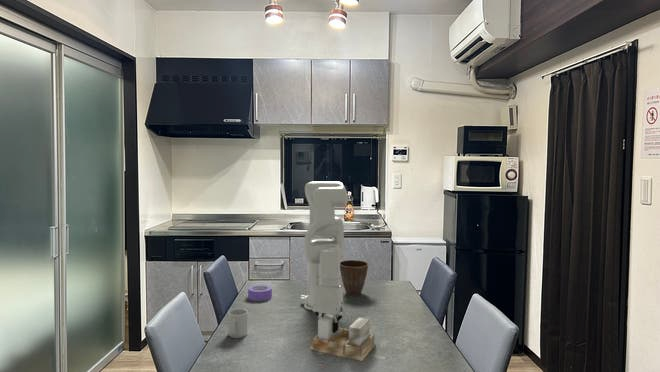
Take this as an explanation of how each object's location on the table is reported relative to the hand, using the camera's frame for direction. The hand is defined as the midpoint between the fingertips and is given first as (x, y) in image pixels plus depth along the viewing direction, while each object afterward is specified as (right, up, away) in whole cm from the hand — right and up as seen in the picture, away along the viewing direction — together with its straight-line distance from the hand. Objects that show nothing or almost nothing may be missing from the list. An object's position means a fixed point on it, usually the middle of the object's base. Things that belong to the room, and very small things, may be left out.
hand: (328, 329), depth 151 cm
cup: (-36, -5, +7) cm, 37 cm away
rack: (+5, -5, -2) cm, 8 cm away
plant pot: (+13, -3, +61) cm, 63 cm away
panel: (0, -4, 0) cm, 4 cm away
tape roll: (-35, -3, +54) cm, 64 cm away
